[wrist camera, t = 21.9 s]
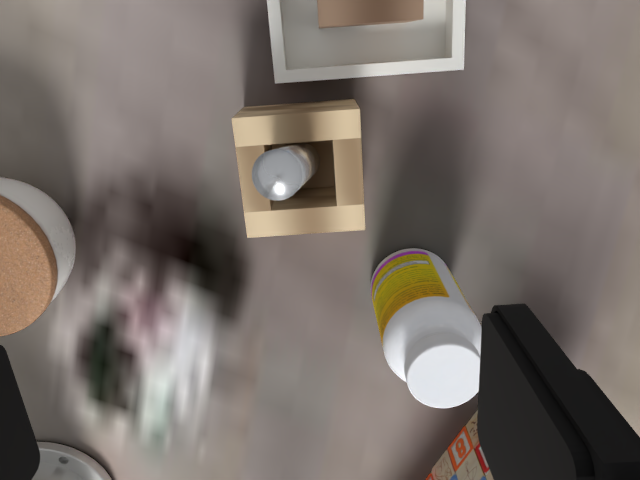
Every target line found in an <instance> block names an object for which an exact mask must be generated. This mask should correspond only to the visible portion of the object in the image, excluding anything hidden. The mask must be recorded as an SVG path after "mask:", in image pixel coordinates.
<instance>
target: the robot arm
mask: <svg viewBox="0 0 640 480" xmlns="http://www.w3.org/2000/svg"><path fill="white" fill-rule="evenodd" d="M477 432H478V439H479V443H480V446H481V449H482V451H483V454H484V456H485V459H486V461H487V464H488V466H489V469H490V471H491V474H492V477H493V479H494V480H640V437H639V436H638V435H637V434H636V432H635V431H634V430H633V429H632V427H631V426H630V425H629V424H628V422H627V421H626V420H625V419H624V417H623V416H622V415H621V414H620V413H619V411H618V410H617V409H616V408H615V406H614V405H613V404H612V403H611V401H610V400H609V399H608V398H607V396H606V395H605V394H604V393H603V391H602V390H601V389H600V388H599V387H598V385H597V384H596V383H595V382H594V380H593V379H592V378H591V377H590V376H589V375H588V374H587V373H586V372H585V371H583V370H580V369H576V367H575V366H574V365H573V364H572V362H571V361H570V360H569V358H568V357H567V356H566V355H565V353H564V352H563V351H562V350H561V348H560V347H559V346H558V344H557V343H556V342H555V341H554V339H553V338H552V337H551V336H550V334H549V333H548V332H547V330H546V329H545V328H544V327H543V325H542V324H541V323H540V322H539V320H538V319H537V318H536V316H535V315H534V314H533V313H532V311H531V310H530V309H529V308H528V306H527V305H526V304H511V305H495V306H494V307H493V308H492V311H491V313H488V314H484V315H483V318H482V332H481V353H480V374H479V396H478V417H477ZM0 480H112V479H111V477H110V476H109V475H108V473H107V472H106V471H105V469H104V468H103V467H102V466H101V465H99V464H98V463H97V462H96V461H95V460H94V459H92V458H91V457H89V456H88V455H86V454H85V453H83V452H80V451H78V450H76V449H74V448H71V447H68V446H65V445H62V444H56V443H50V442H36V439H35V436H34V433H33V430H32V427H31V424H30V421H29V418H28V415H27V412H26V409H25V406H24V403H23V400H22V397H21V394H20V391H19V388H18V385H17V382H16V379H15V376H14V373H13V370H12V367H11V364H10V361H9V358H8V355H7V352H6V350H5V348H4V347H3V346H2V345H0Z"/></svg>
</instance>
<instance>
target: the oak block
mask: <svg viewBox="0 0 640 480" xmlns="http://www.w3.org/2000/svg"><path fill="white" fill-rule="evenodd" d="M232 124H233V132H234V140H235V147H236V155H237V163H238V170H239V178H240V185H241V193H242V201H243V208H244V216H245V224H246V231H247V238H253V237H267V236H282V235H297V234H311V233H326V232H340V231H355V230H365V215H364V192H363V169H362V146H361V123H360V108H359V106H358V105H357V103H356V101H355V100H354V99H344V100H331V101H317V102H304V103H291V104H277V105H264V106H251V107H244V108H242V109H241V110H240V111H239V112H238V113H237V114H236V115H235V116H234V117H233V118H232ZM298 143H307V144H310V145H312V146H313V147H314V148H315V149H316V150H317V151H318V153H319V156H320V166H319V169H318V170H317V172H316V173H315V174H314V175H313V176H312V177H311V178H310V179H309V180H308V181H307V182H306V183H305V184H304V185H303V186H302V187H301V188H300V189H299V190H298V191H297V192H296V193H295V194H294V195H292V196H291V197H289V198H287V199H285V200H279V201H277V200H270V199H268V198H265V197H264V196H262V195H261V194H260V193H259V192H258V191H257V190H256V188H255V186H254V184H253V181H252V168H253V165H254V163H255V161H256V159H257V158H258V157H259V156H260V155H261V154H263V153H264V152H266V151H269V150H273V149H277V148H281V147H286V146H290V145H294V144H298Z"/></svg>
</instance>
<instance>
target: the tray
mask: <svg viewBox="0 0 640 480" xmlns="http://www.w3.org/2000/svg"><path fill="white" fill-rule="evenodd" d="M267 7H268V17H269V28H270V38H271V48H272V58H273V69H274V79H275V84H276V83H290V82H303V81H317V80H330V79H344V78H357V77H371V76H384V75H398V74H411V73H425V72H438V71H452V70H464V46H465V9H466V0H424V15H423V19H422V20H417V21H412V22H406V23H392V24H377V25H363V26H349V27H334V28H320V29H319V25H318V9H317V0H267Z"/></svg>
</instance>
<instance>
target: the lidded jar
mask: <svg viewBox="0 0 640 480" xmlns="http://www.w3.org/2000/svg"><path fill="white" fill-rule="evenodd" d="M75 253H76V242H75V235H74V232H73V229H72V226H71V224H70V222H69V219H68V217H67V216H66V214H65V213H64V211H63V210H62V208H61V207H60V206H59V205H58V204H57V203H56V202H55V201H54V200H53V199H52V198H51V197H50V196H48V195H47V194H46V193H44V192H43V191H41V190H40V189H38V188H36V187H34V186H32V185H30V184H27V183H24V182H22V181H18V180H14V179H9V178H4V177H0V336H5V335H9V334H13V333H15V332H18V331H20V330H22V329H24V328H26V327H27V326H29V325H30V324H32V323H33V322H34V321H35V320H36V319H37V318H38V317H39V316H40V315H41V314H42V313H43V312H44V311H45V310H46V308H47V307H48V305H49V304H50V303H51V302H52V301H53V300H54V299H55V297H56V296H57V295H58V294H59V292H60V291H61V289H62V288H63V286H64V285H65V283H66V282H67V280H68V277H69V275H70V273H71V271H72V268H73V265H74V261H75Z"/></svg>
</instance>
